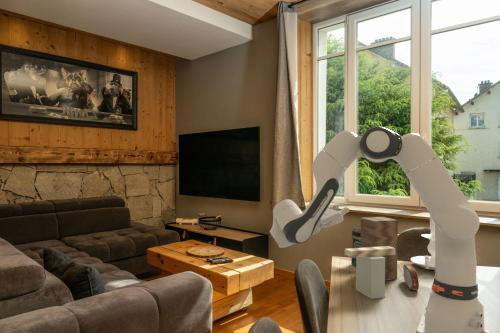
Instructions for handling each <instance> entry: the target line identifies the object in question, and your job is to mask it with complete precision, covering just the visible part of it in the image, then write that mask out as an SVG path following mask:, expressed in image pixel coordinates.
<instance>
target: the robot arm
mask: <svg viewBox="0 0 500 333" xmlns="http://www.w3.org/2000/svg"><path fill="white" fill-rule="evenodd" d="M359 158H360V159H362V160H364V161H367V162H370V163H374V164H381V163H384V162H386V161H389V159H391V160H394V161H395V162H397V164H398V165H399V166H400V167H401V169H402V171H403V172H404V174H405V176H406V177H407V179H408V180H409V182H410V184H411V185H412V187H413V189H414V190H415V191H416V193H417V195H418V197H419V198H420V200H421V202H422V203H423V206H424V207H425V208H426V209H425V210H426V211H427V212H428V214H429V216H430V215H431V217H432V219H433V220H434V222H435V270H434V277H433V281H432V284H431V291H430V292H429V298H428V301H427V306H425V312H423V313H422V314H421V316H420V319H419V322H418V325H417V327H416V330H415V332H416V333H491V331H490V330H488V329H486V328H485V312H484V305H483V304H482V303H481V302H480V301H479V299H478V296H479V288H478V285H479V284H478V283H477V253H476V252H477V251H476V240H475V239H476V238H475V236H476V234H477V233H478V230H479V228H480V224H481V222H480V217H479V215H478V214H477V212H476V210H475V209H474V207H473V206H472V204H471V202H469V200H468V198H466V196H465V195H464V193H463V191H462V190H461V188H460V187H459V185H458V184H457V183H456V181H455V180H454V179H453V177H452V176H451V174H450V173H449V171H448V170H447V168H446V167H445V165H444V163H443V161H442V160H441V159H440V157H439V156H438V154H437V153H436V151H435V150H434V149H433V148H432V146H431V145H430V144H429V143H428V141H426V139H425V138H423V137H422V136H421V135H420V134H419V133H415V132H409V133H406V134H403V135H400V134H398V133H397V132H394V131H393V130H391V129H389V128H386V127H384V126H373V127H370V128H368V129H366V130H365V131H364V132H363V134H362V135H357V134H356V133H355V132H354V131H351V130H345V129H344V130H342V131H340V132H338V133H337V134H336V135H335V136H333V137H332V138H331V139H330V140H329V141H328V142H327V143H326V144H325V145H324V147H322V149H321V150H320V151H319V152H318V153H317V155H316V157H314V160H313V162H312V167H311V168H312V174H313V176H314V180H315V186H316V187H315V188H316V190H315V194H314V196H313V197H312V199H311V200H310V202H309V203H308V205H307V206H306V208H305V209H304V211H302V210H301V208H300V207H299V205H298V204H297V203H295V202H294V201H293V200H292V199H289V198H284V199H281V200H279V201H278V202H276V204H275V205H274V206H273V208H272V219H273V220H272V226H271V229H270V230H269V234H270V237H271V239H272V241H273V242H274V243H275V245H276V246H277V248H280V249H284V248H288V247H290V246H291V247H292V245H293V246H294V245H295V244H298V245H299V244H303V243H306V242H307V241H308V240H309V239H310V238H311V237H312V236H315V235H316V234H318V233H320V232H321V230H322V228H325V229H326V228H331V227H334V226H335V225H338V224H340V223H342V222H344V220H345V219H344V216H345V215H346V214H348V213H349V212H350V209H349V207H347V206H345V207H343V208H342V209H340V208H339V205H337V204H334V205H332V206H330V205H331V204H332V201H333V200H334V199H335V196H336V195H337V193H338V191H339V189H340V182H341V179H342V178H343V175H344V174H345V172H346V171H347V169H348V168H350V167H351V165H352V164H353V163H354V162H355V161H356V160H357V159H359ZM339 209H340V210H339Z"/></svg>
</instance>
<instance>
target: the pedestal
mask: <svg viewBox="0 0 500 333" xmlns="http://www.w3.org/2000/svg"><path fill="white" fill-rule="evenodd" d="M355 268H356V269H355V275H356V276H355V278H356V279H355V290H356V291H357V292H359V293H361V294H363V295H364V296H366V297H367V298H368V299H370V300H372V299H381V298H385V297H386V296H385V294H386V284H385V283H386V280H385V258H384V257H382V256H370V257H356V266H355Z"/></svg>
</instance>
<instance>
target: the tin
mask: <svg viewBox="0 0 500 333" xmlns="http://www.w3.org/2000/svg"><path fill="white" fill-rule="evenodd" d="M402 268H403V280H404V282H405V284H406V286H407V287H408V288H409V290H410V291H419V287H420V286H419V285H420V284H419V283H420V281H419V276H418V272H417V270H416V268H415V267H414V266H413V265H412V264H411V263H408V264H407V263H404V264H403V267H402Z"/></svg>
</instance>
